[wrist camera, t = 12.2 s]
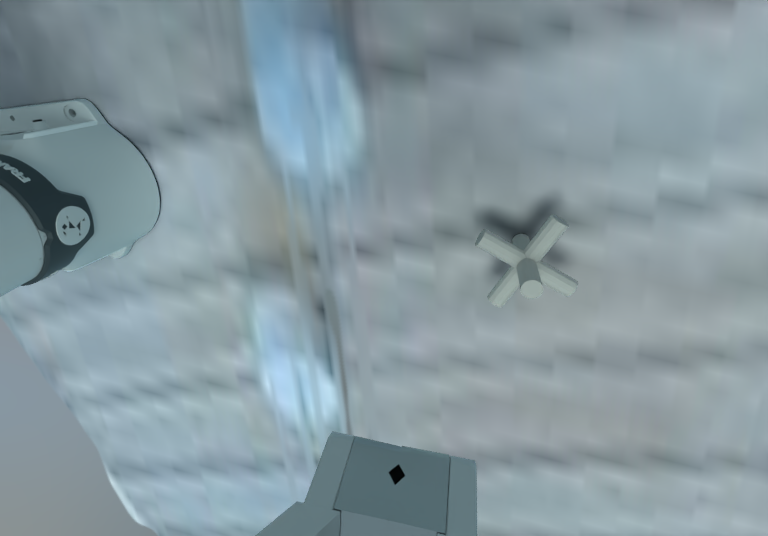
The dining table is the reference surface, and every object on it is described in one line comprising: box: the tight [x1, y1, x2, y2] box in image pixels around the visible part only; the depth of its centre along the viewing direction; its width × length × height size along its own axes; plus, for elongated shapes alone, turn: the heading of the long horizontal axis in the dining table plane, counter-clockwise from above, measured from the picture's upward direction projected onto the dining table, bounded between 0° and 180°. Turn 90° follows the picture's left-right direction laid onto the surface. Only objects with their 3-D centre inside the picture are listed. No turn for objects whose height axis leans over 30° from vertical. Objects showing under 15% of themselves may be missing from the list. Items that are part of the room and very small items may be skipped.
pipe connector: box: [475, 214, 578, 307], centre depth 41 cm, size 10×10×10 cm
